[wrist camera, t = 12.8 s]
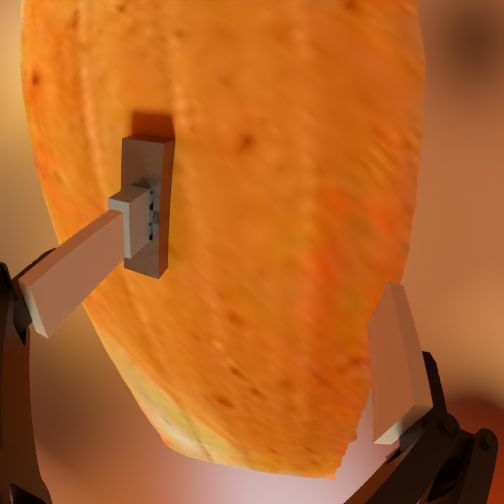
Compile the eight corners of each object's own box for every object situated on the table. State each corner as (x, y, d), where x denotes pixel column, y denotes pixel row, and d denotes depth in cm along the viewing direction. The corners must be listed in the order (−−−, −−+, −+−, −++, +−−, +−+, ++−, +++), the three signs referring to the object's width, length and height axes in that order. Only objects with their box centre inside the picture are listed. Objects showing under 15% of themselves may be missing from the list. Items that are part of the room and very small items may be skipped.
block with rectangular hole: (135, 134, 48) (122, 138, 44) (175, 139, 47) (163, 144, 44) (134, 258, 61) (124, 267, 58) (167, 268, 60) (158, 279, 57)
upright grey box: (140, 179, 51) (108, 198, 43) (159, 182, 51) (129, 203, 42) (140, 227, 56) (111, 252, 48) (157, 232, 56) (130, 259, 48)
